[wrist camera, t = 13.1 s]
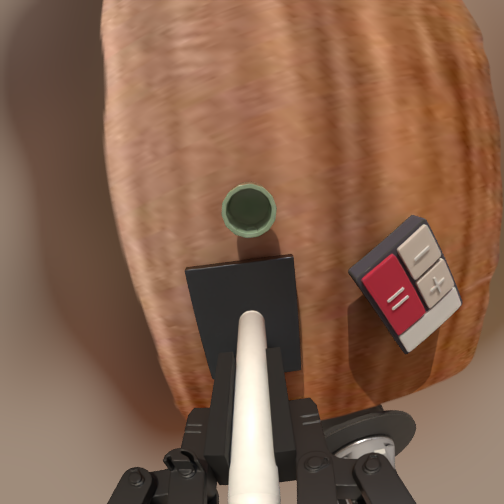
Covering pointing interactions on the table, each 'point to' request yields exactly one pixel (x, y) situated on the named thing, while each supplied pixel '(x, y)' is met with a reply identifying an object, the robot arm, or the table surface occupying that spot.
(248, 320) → the stylus
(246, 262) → the tablet
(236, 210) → the pen cup
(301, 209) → the table surface
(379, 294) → the calculator
